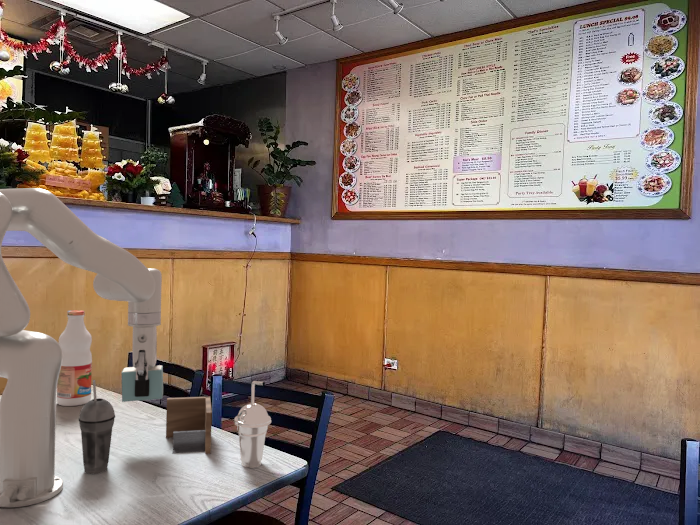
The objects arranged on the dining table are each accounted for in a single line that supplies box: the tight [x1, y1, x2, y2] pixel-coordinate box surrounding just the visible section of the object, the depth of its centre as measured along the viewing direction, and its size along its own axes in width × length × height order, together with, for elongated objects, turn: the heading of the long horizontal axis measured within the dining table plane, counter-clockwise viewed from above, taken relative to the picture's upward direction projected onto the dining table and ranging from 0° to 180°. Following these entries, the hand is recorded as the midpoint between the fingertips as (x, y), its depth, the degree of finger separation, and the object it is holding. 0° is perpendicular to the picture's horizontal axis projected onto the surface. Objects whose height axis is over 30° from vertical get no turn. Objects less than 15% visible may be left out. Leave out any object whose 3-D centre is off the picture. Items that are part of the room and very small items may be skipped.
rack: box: [165, 396, 213, 455], centre depth 135 cm, size 14×11×10 cm
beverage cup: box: [78, 379, 116, 475], centre depth 118 cm, size 7×7×20 cm
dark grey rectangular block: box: [172, 430, 205, 455], centre depth 132 cm, size 4×8×4 cm, turn 106°
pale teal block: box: [121, 364, 164, 403], centre depth 133 cm, size 5×9×7 cm, turn 106°
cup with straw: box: [233, 380, 272, 469], centre depth 124 cm, size 8×9×20 cm
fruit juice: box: [56, 309, 93, 407], centre depth 167 cm, size 9×9×28 cm
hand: (143, 392), depth 134 cm, fingers closed on pale teal block, 5 cm apart
